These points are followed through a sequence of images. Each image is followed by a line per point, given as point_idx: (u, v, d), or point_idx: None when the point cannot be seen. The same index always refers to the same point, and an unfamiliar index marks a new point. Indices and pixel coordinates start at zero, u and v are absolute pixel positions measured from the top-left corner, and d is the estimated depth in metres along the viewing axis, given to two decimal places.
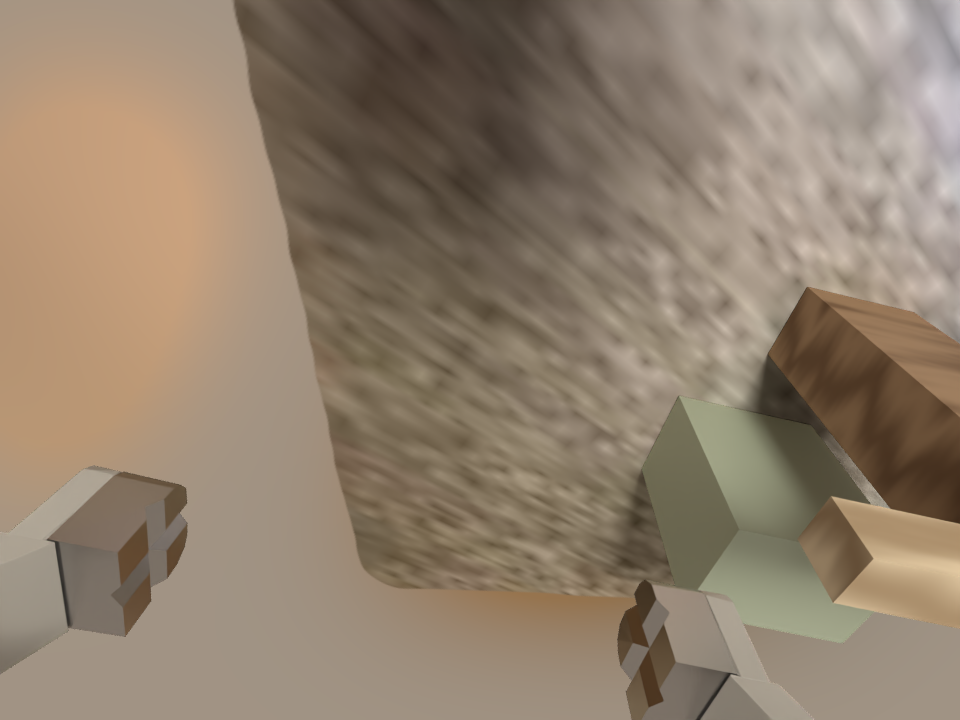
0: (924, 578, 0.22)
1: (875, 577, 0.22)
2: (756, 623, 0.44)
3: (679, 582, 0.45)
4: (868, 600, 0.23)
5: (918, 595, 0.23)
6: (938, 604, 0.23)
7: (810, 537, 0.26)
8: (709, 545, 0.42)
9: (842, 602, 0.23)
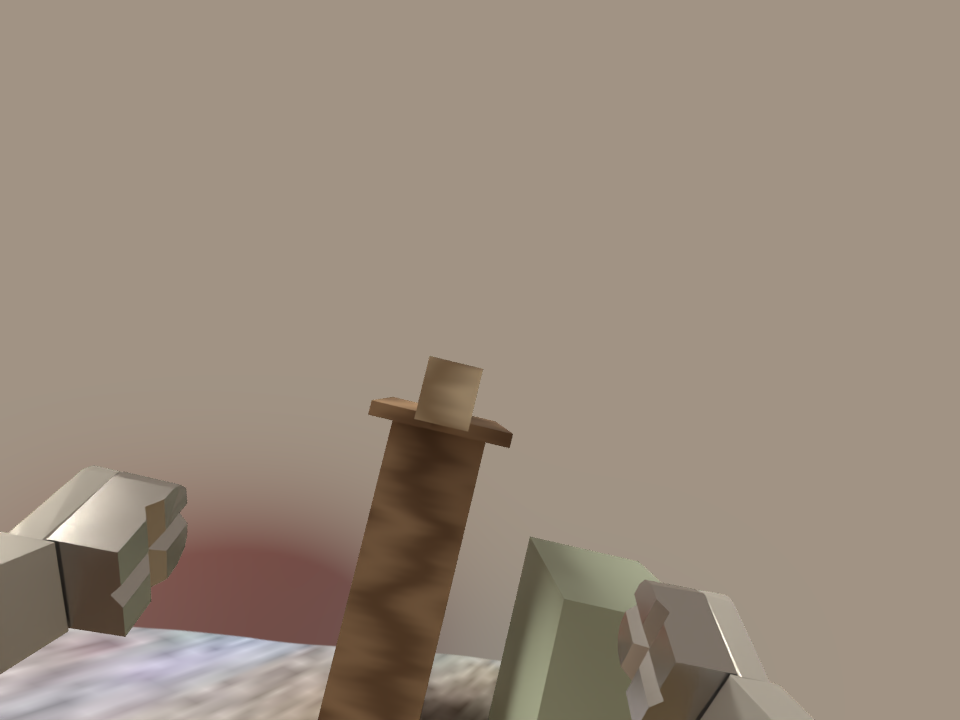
0: None
1: None
2: None
3: None
4: None
5: None
6: None
7: (456, 418, 0.29)
8: (616, 638, 0.33)
9: None
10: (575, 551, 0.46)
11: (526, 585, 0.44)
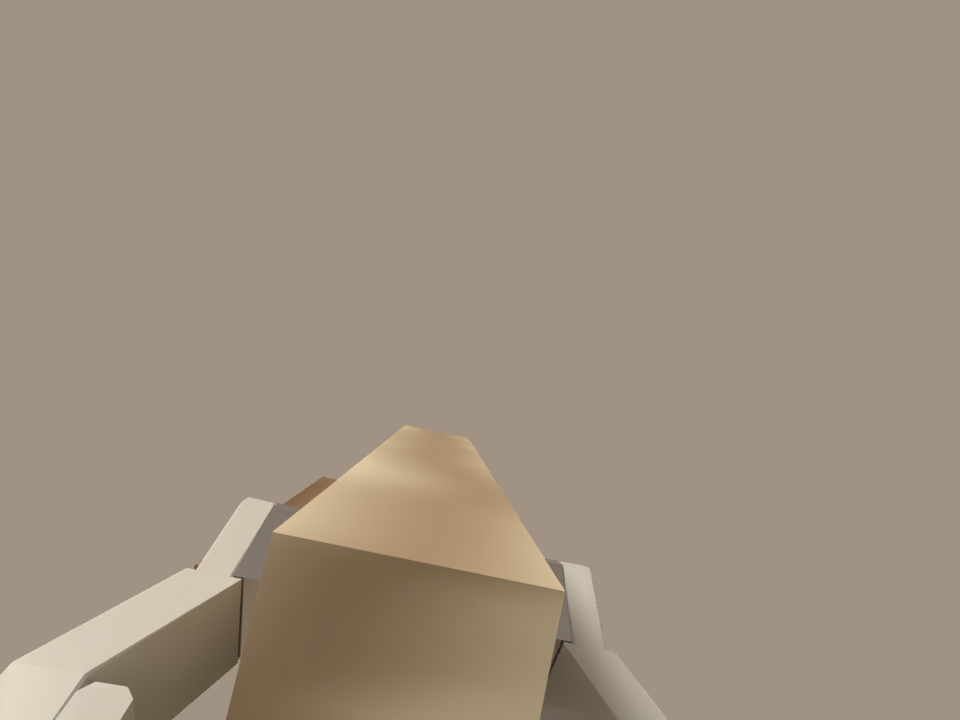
0: (358, 494, 0.08)
1: (381, 534, 0.06)
2: None
3: None
4: (496, 544, 0.07)
5: (427, 502, 0.08)
6: (446, 493, 0.10)
7: None
8: None
9: (545, 577, 0.06)
10: None
11: None
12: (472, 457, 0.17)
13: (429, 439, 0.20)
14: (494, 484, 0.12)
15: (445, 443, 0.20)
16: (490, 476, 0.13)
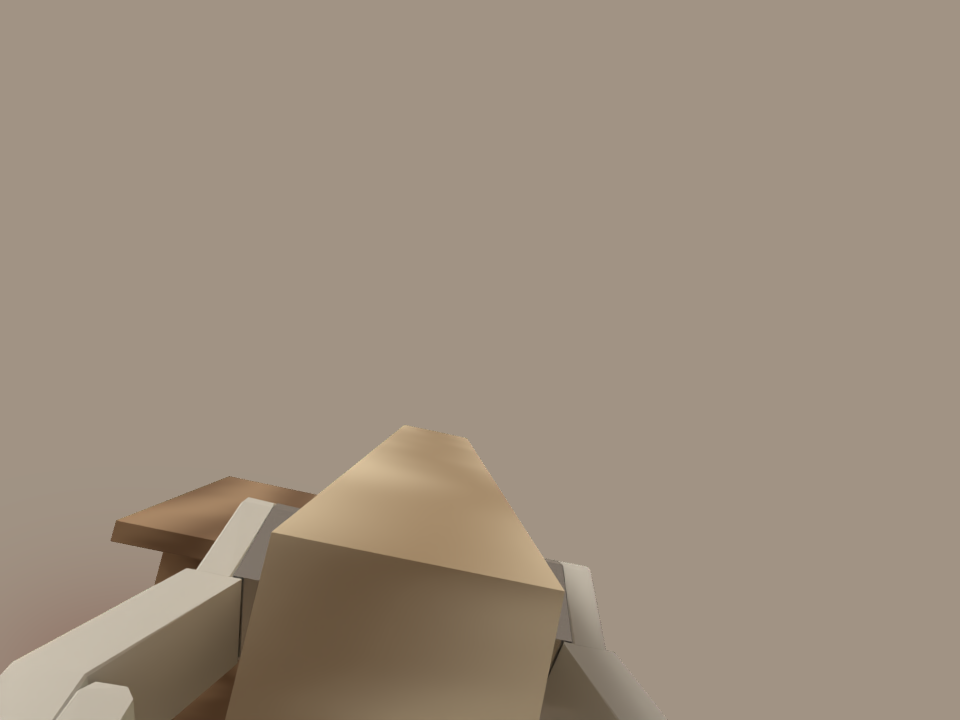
0: (357, 494, 0.08)
1: (381, 534, 0.06)
2: None
3: None
4: (495, 544, 0.07)
5: (426, 503, 0.08)
6: (445, 493, 0.09)
7: None
8: None
9: (544, 577, 0.06)
10: None
11: None
12: (471, 457, 0.17)
13: (428, 439, 0.20)
14: (493, 484, 0.12)
15: (444, 443, 0.20)
16: (489, 476, 0.13)
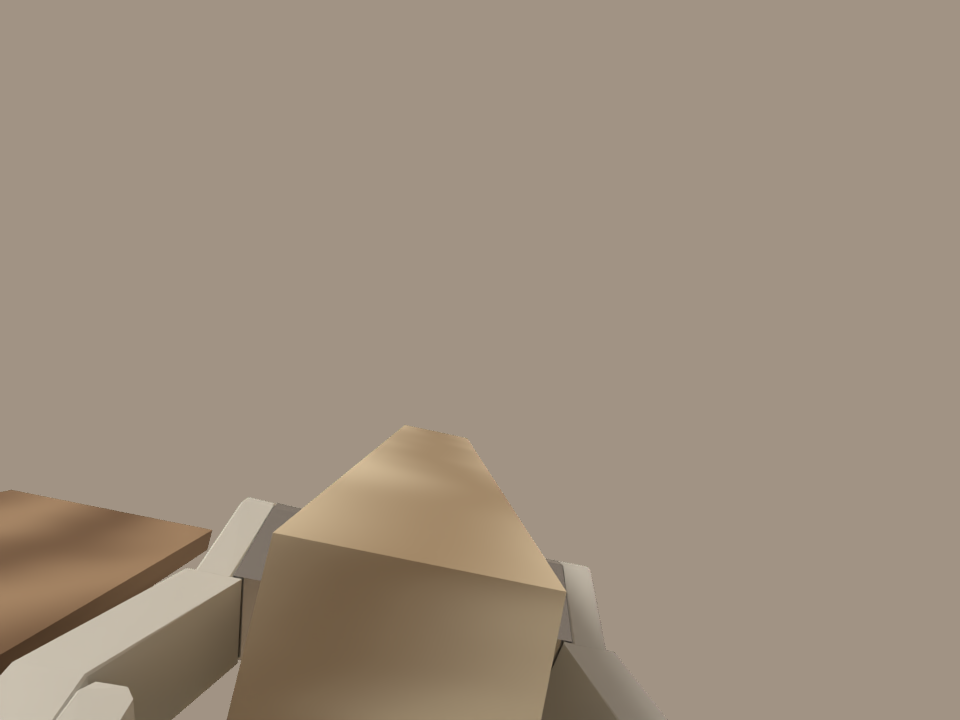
0: (358, 494, 0.08)
1: (382, 534, 0.06)
2: None
3: None
4: (497, 545, 0.07)
5: (428, 503, 0.08)
6: (446, 493, 0.09)
7: None
8: None
9: (546, 577, 0.06)
10: None
11: None
12: (471, 457, 0.17)
13: (428, 439, 0.20)
14: (494, 484, 0.12)
15: (444, 443, 0.20)
16: (490, 476, 0.13)
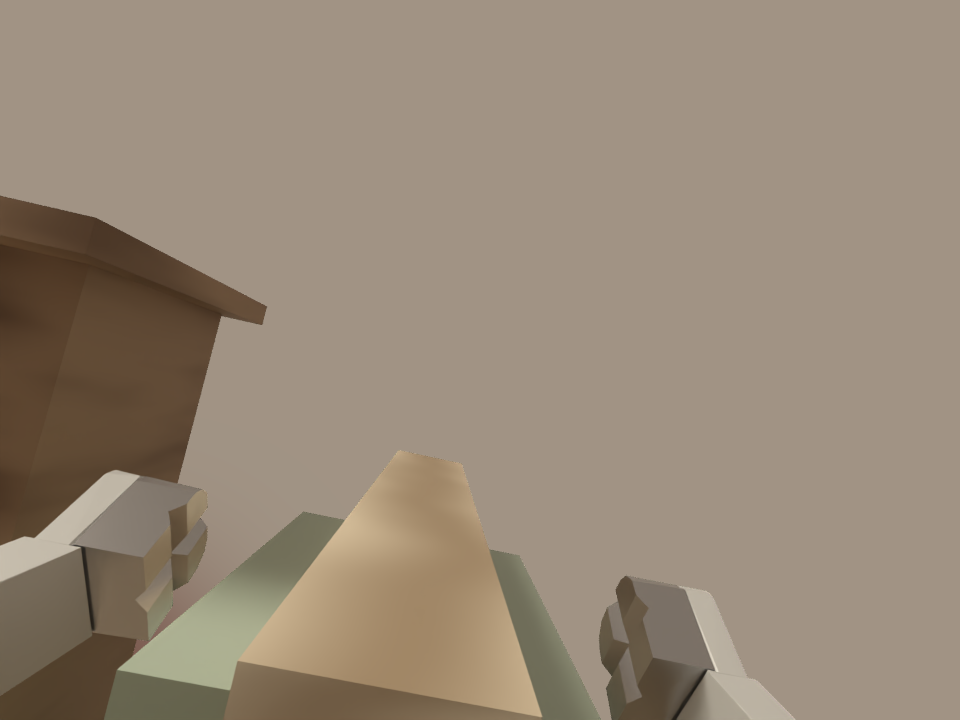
0: (337, 578, 0.08)
1: (355, 645, 0.06)
2: (545, 626, 0.17)
3: None
4: (475, 645, 0.07)
5: (409, 582, 0.08)
6: (430, 563, 0.09)
7: None
8: None
9: (522, 694, 0.06)
10: None
11: None
12: (463, 495, 0.17)
13: (421, 471, 0.20)
14: (482, 538, 0.12)
15: (437, 475, 0.20)
16: (479, 525, 0.13)
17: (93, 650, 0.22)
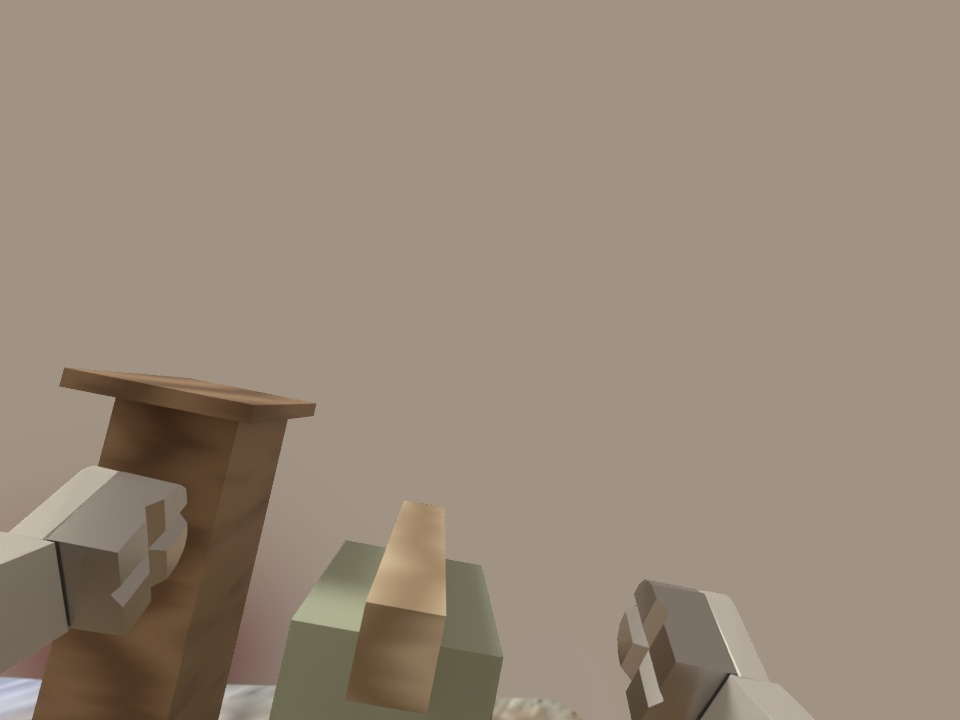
0: (385, 580, 0.22)
1: (395, 599, 0.20)
2: (485, 605, 0.31)
3: (477, 701, 0.25)
4: (431, 600, 0.21)
5: (410, 581, 0.23)
6: (419, 574, 0.24)
7: (409, 695, 0.19)
8: None
9: (442, 611, 0.20)
10: None
11: None
12: (440, 535, 0.31)
13: (418, 518, 0.34)
14: (443, 562, 0.26)
15: (427, 521, 0.34)
16: (444, 555, 0.27)
17: (224, 627, 0.36)
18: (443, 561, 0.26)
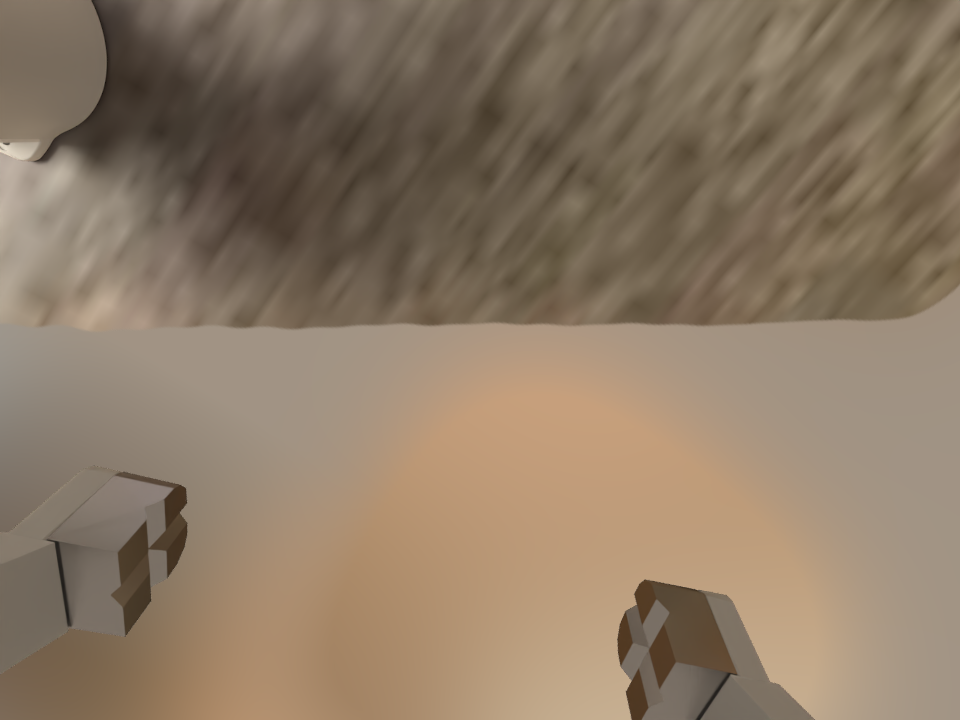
0: None
1: None
2: None
3: None
4: None
5: None
6: None
7: None
8: None
9: None
10: None
11: None
12: None
13: None
14: None
15: None
16: None
17: None
18: None
